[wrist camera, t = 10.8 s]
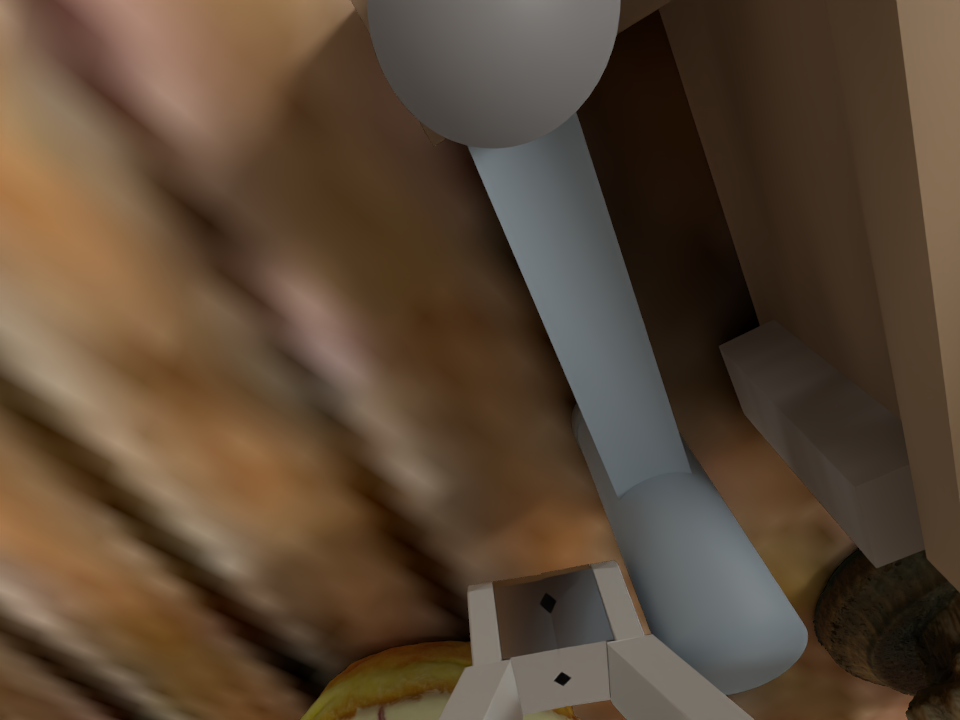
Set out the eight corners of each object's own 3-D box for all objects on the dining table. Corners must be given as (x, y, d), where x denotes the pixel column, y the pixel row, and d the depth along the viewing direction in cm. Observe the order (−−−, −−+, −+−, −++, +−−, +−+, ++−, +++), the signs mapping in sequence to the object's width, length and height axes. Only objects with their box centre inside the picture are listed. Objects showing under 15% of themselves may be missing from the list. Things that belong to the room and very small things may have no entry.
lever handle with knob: (369, -14, 10) (282, -105, 4) (501, -86, 10) (622, -301, 4) (585, 464, 16) (678, 713, 10) (671, 430, 16) (821, 668, 10)
